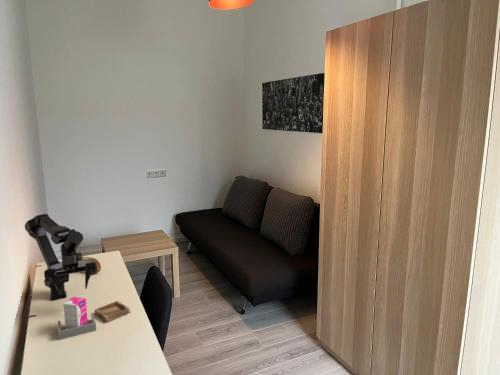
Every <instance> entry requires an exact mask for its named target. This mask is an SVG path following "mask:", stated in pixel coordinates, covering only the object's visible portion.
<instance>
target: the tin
mask: <svg viewBox="0 0 500 375" xmlns="http://www.w3.org/2000/svg"><path fill="white" fill-rule="evenodd" d="M88 262H95V263H96V272H95V273H93V275H96V274H98V273H99V272H100V271H101V269H102V268H101V267H102V265H101V263H100V262H99V260H98V259H97V258H94V257H89V256H84V255H82V260H81V261H78V264H79V266H78V267H83V266H85V263H88ZM80 273H82V274H85V271H82V272H80Z"/></svg>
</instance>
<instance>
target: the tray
mask: <svg viewBox="0 0 500 375" xmlns="http://www.w3.org/2000/svg"><path fill="white" fill-rule="evenodd" d="M128 313H129V314H131V310H130V308H129V307H128V306H126V305H125V304H124V303H122V302H120V301H118V300H116V301H114V302H110V303H108V304H106V305H104V306H101V307H98V308H96V309H94V315H96V316H97V317H99V319H101V320H102V321H104V322H105V323H106V324H107V323H111V322H112V321H114V320H117V319H119V318H121V317H124V316H126V315H128Z"/></svg>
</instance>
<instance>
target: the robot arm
mask: <svg viewBox="0 0 500 375" xmlns="http://www.w3.org/2000/svg"><path fill="white" fill-rule="evenodd" d="M24 229H25V231H26V232H27V233H28V236H30V237H31V238H32V239H35V241H36V243H37V246H38V249H39V250H40V253H41V256H42V258H43V259H44V262H45V264H46V266H47V268H46V269H45V270H44V271H43V273H44V274H43V275H44V281H43V283H44V286H46V287H47V288H48V289H49V290H50V295H49V296H50V297H49V300H50V301H55V300H60V299H64V298H67V297H68V296H67V295H68V294H67V291H66V288H65V283H69V280H70V275H71V274H76V273H81V272H82V271H85V273H84V280H85V281H84V286H85V288H84V289H85V290H87V289H88V284H89V281H90V278H91V276H93V275H94V274H93V273H95V272H96V263H95V262H88V263H85V266H83V267H78V266H79V264H78V261H81V260H82V256H83V255H82V252H81V251H80V252H77V249H79V246H80V245H81V244H82V242H83V240H84V235H83V233H81V232H80V231H77V230H75V228H72V229H70V228H69V227H67V226H66V225H65V226H64V225H60V224H58V223H57V222H56V221H55V220H53V219H52V218H51V217H50V215H49V214H47V213H43V214H37V215H35V216H33V218H31V219H29V220H27V221H26V222H25V223H24ZM47 233H48V234H49V235H50V239H51V240H50V239H49V237H48V234H47ZM50 241H51V242H52V243H53V244H54V245H59V244H61V245H60V253H61V261H59V259H58V257H57V255H56V253H55V250H54V248H53V246H52V243H51V242H50Z"/></svg>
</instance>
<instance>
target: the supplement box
mask: <svg viewBox="0 0 500 375" xmlns="http://www.w3.org/2000/svg"><path fill="white" fill-rule="evenodd" d="M87 311H88V309H87V298H85V297H77V296H72V297H71V298H69V299H68V300H67V301H65V302H63V313H64V314H63V315H64V324H65V325H64V326H65V327H64V328H65V329H64V330H66V329H70V328H74V327H78V326H82V325H86V324H89V322H88V312H87Z"/></svg>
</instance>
